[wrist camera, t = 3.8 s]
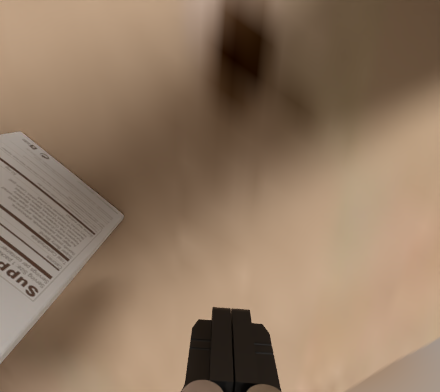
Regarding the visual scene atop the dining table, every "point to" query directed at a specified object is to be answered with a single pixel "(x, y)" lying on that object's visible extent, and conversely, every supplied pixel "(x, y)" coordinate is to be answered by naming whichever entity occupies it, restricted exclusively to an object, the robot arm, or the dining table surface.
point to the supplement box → (42, 233)
